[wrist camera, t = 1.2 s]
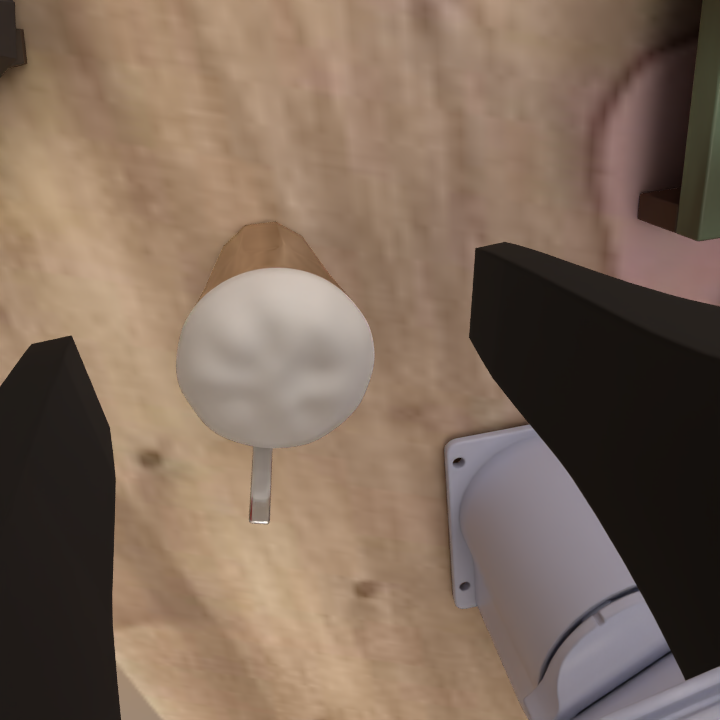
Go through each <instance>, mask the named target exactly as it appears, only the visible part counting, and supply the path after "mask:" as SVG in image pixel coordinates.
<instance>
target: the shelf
mask: <svg viewBox="0 0 720 720" xmlns="http://www.w3.org/2000/svg"><path fill="white" fill-rule="evenodd" d="M638 219H639V220H642V221H645V222H647V223H650V224H653V225H655V226H658V227H661V228H663V229H666V230H669V231H672V232H674V233H677V234H679V235H682V236H685V237H688V238H690V239H693V240H696V241H704V240H710V239H716V238H720V0H703V1H702V10H701V19H700V28H699V37H698V45H697V54H696V63H695V72H694V80H693V89H692V98H691V107H690V115H689V124H688V133H687V142H686V151H685V159H684V168H683V177H682V186H681V187H678V188H672V189H665V190H659V191H652V192H646V193H642V194H640V201H639V213H638Z"/></svg>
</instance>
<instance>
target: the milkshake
mask: <svg viewBox="0 0 720 720" xmlns="http://www.w3.org/2000/svg"><path fill="white" fill-rule="evenodd" d="M373 366H374V343H373V338H372V334H371V330H370V327H369V325H368V323H367V321H366V319H365V317H364V315H363V314H362V312H361V311H360V310H359V308H358V307H357V306H356V305H355V303H354V302H353V301H352V300H351V299H350V297H349V296H348V295H347V294H346V293H345V292H344V290H343V289H342V288H341V287H340V286H339V285H338V283H337V282H336V281H335V280H334V279H333V278H332V276H331V275H330V274H329V273H328V271H327V270H326V269H325V267H324V266H323V264H322V263H321V262H320V260H319V259H318V257H317V256H316V255H315V253H314V252H313V250H312V249H311V247H310V246H309V245H308V243H307V242H306V240H305V239H304V238H303V236H301V235H300V234H298V233H296V232H294V231H292V230H290V229H288V228H287V227H285V226H283V225H281V224H279V223H278V222H276V221H275V222H267V223H259V224H250V225H245V226H244V227H243V228H242V229H241V230H240V231H239V232H238V233H237V234H236V235H235V236H233V237H232V238H231V239H230V240H229V241H228V242H227V243H226V244H225V245H224V246H223V248H222V250H221V252H220V255H219V257H218V259H217V261H216V264H215V266H214V268H213V270H212V272H211V275H210V277H209V279H208V282H207V284H206V286H205V288H204V290H203V292H202V294H201V296H200V297H199V299H198V301H197V303H196V304H195V306H194V308H193V309H192V311H191V312H190V314H189V315H188V317H187V319H186V321H185V323H184V325H183V328H182V331H181V334H180V338H179V343H178V349H177V359H176V372H177V379H178V383H179V386H180V388H181V391H182V393H183V394H184V396H185V398H186V399H187V401H188V402H189V404H190V405H191V407H192V408H193V410H194V411H195V412H196V414H197V415H198V417H199V418H200V419H201V420H202V421H203V422H204V423H205V424H206V425H207V426H208V427H209V428H210V429H211V430H212V431H214V432H215V433H217V434H219V435H220V436H222V437H224V438H227V439H229V440H232V441H234V442H238V443H241V444H245V445H249V446H253V458H252V475H251V492H250V509H249V522H250V523H254V524H269V521H270V503H271V475H272V448H288V447H295V446H301V445H305V444H308V443H311V442H314V441H316V440H318V439H320V438H322V437H323V436H325V435H327V434H328V433H330V432H331V431H333V430H334V429H335V428H337V427H338V426H339V425H341V424H342V423H343V422H344V421H345V420H346V419H347V418H348V417H349V416H350V415H351V414H352V413H353V412H354V411H355V409H356V408H357V407H358V405H359V404H360V402H361V400H362V398H363V396H364V394H365V392H366V389H367V387H368V384H369V381H370V378H371V375H372V371H373Z"/></svg>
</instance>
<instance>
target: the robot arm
mask: <svg viewBox="0 0 720 720" xmlns="http://www.w3.org/2000/svg"><path fill="white" fill-rule="evenodd" d="M469 338H470V340H471V342H472V343H473V345H474V347H475V349H476V351H477V352H478V354H479V356H480V358H481V360H482V361H483V363H484V365H485V366H486V368H487V369H488V371H489V373H490V374H491V376H492V378H493V379H494V380H495V381H496V383H497V384H498V385H499V387H500V388H501V389H502V390H503V392H504V393H505V394H506V395H507V397H508V398H509V399H510V401H511V402H512V403H513V404H514V406H515V407H516V408H517V409H518V411H519V412H520V413H521V414H522V415H523V417H524V418H525V419H526V420H527V422H528V423H529V425H524V426H519V427H514V428H508V429H503V430H498V431H492V432H487V433H482V434H477V435H471V436H466V437H461V438H455V439H453V440H450V441H449V442H448V443H447V444H446V446H445V449H444V457H445V473H446V489H447V506H448V522H449V538H450V555H451V571H452V588H453V599H454V602H455V605H456V606H457V607H458V608H460V609H467V608H471V607H476V606H478V608H479V611H480V613H481V615H482V618H483V620H484V622H485V625H486V627H487V629H488V631H489V634H490V636H491V638H492V641H493V643H494V645H495V648H496V650H497V652H498V655H499V657H500V659H501V661H502V664H503V666H504V668H505V671H506V673H507V675H508V678H509V680H510V682H511V684H512V687H513V689H514V691H515V694H516V696H517V698H518V701H519V703H520V705H521V707H522V709H523V711H524V713H525V714H526V716H527V718H528V719H529V720H720V307H719V306H715V305H710V304H706V303H701V302H697V301H692V300H688V299H684V298H681V297H677V296H673V295H669V294H666V293H662V292H659V291H656V290H652V289H649V288H645V287H642V286H639V285H635V284H632V283H629V282H626V281H623V280H620V279H617V278H614V277H611V276H608V275H605V274H602V273H599V272H596V271H593V270H590V269H587V268H584V267H582V266H579V265H576V264H573V263H570V262H567V261H565V260H562V259H559V258H556V257H553V256H550V255H548V254H545V253H542V252H539V251H536V250H533V249H529V248H526V247H523V246H519V245H516V244H511V243H507V242H503V243H498V244H493V245H489V246H484V247H480V248H476V250H475V264H474V278H473V291H472V305H471V319H470V333H469ZM457 458H461V460H460V461H459V462H457V463H453V461H454V460H455V459H457ZM115 485H116V477H115V468H114V458H113V450H112V441H111V433H110V427H109V424H108V422H107V420H106V417H105V415H104V412H103V410H102V408H101V405H100V403H99V400H98V398H97V395H96V393H95V391H94V388H93V386H92V383H91V381H90V379H89V376H88V374H87V371H86V369H85V367H84V364H83V362H82V359H81V357H80V354H79V352H78V350H77V347H76V345H75V342H74V340H73V338H72V336H67V337H62V338H58V339H53V340H48V341H44V342H39V343H35V344H31V346H30V347H29V348H28V349H27V350H26V352H25V353H24V354H23V356H22V357H21V359H20V360H19V361H18V363H17V364H16V365H15V367H14V368H13V370H12V371H11V372H10V374H9V375H8V377H7V378H6V379H5V381H4V382H3V383H2V385H1V386H0V720H121V715H120V705H119V695H118V684H117V672H116V660H115V647H114V635H113V617H112V587H113V556H114V525H115ZM464 582H466V583H464ZM462 583H464V584H462Z"/></svg>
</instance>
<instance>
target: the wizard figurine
mask: <svg viewBox="0 0 720 720" xmlns="http://www.w3.org/2000/svg"><path fill="white" fill-rule="evenodd" d="M24 64H27V57H26V48H25V40H24V32H23V29H16V27H15V2H14V1H13V0H0V77H1V76H2V75H3V74H4V73H5V71H6V70H7V69H9V68H12V67H16V66H20V65H24Z"/></svg>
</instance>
